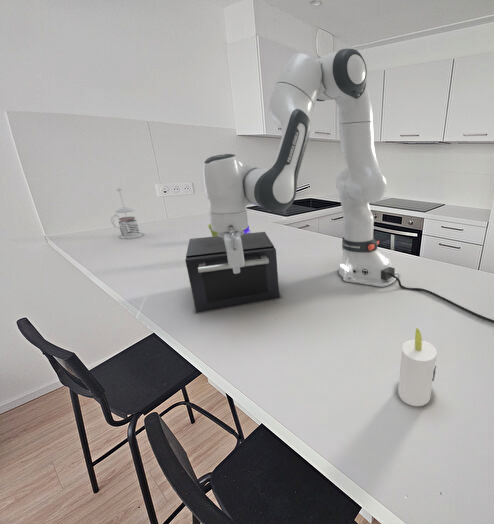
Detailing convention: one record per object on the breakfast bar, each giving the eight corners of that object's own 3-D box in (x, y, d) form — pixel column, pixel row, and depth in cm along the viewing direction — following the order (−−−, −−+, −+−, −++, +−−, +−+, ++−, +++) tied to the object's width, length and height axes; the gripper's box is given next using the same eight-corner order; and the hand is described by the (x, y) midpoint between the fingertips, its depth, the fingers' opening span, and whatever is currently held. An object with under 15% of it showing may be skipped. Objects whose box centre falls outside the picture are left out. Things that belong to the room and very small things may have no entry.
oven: (278, 295, 97) (274, 246, 90) (196, 310, 87) (185, 256, 81) (268, 275, 112) (264, 231, 106) (198, 285, 103) (189, 238, 97)
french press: (146, 235, 160) (134, 188, 151) (121, 240, 151) (107, 190, 142) (137, 232, 165) (125, 186, 156) (112, 237, 155) (98, 188, 146)
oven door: (281, 303, 92) (278, 254, 85) (196, 320, 83) (184, 265, 76) (278, 295, 96) (274, 247, 89) (196, 309, 87) (185, 258, 80)
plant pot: (211, 239, 154) (208, 223, 151) (230, 237, 157) (228, 221, 154) (209, 244, 146) (206, 227, 143) (229, 243, 149) (227, 226, 146)
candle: (429, 410, 55) (439, 343, 49) (394, 400, 57) (400, 334, 51) (433, 387, 60) (442, 324, 55) (401, 378, 62) (407, 316, 57)
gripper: (247, 230, 68) (253, 284, 73) (238, 213, 85) (244, 258, 90) (217, 233, 65) (226, 289, 70) (215, 215, 83) (222, 261, 88)
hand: (236, 271), depth 80 cm, fingers closed
